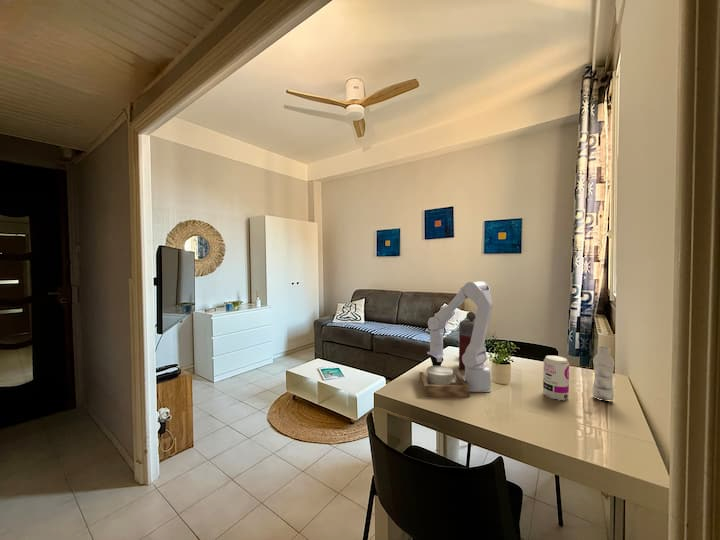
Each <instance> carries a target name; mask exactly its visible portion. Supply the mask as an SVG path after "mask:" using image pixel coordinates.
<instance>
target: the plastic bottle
mask: <svg viewBox="0 0 720 540" xmlns="http://www.w3.org/2000/svg"><path fill="white" fill-rule="evenodd" d="M610 354H611V348H610V347H608V346H604V345H598V346H597V353H596V355H594V357H593V359H592V363H593V369H594V372H593V373H594V379H593V385H592V389H591V393H592V396H593V398H595V397H596V398H599V399H602V400H612V401H613V400H614V397H615V393H614V387H613V377H614V376H613V375H614V369H615V366H616V363H615V360H614V359H613V357H612V356H611V355H610ZM596 398H595V399H596Z"/></svg>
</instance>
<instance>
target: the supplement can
mask: <svg viewBox="0 0 720 540" xmlns="http://www.w3.org/2000/svg"><path fill="white" fill-rule="evenodd" d="M542 375H543V378H542V379H543V380H542V381H543V382H542V383H543V384H542V388H543V389H542V392H543V394H544V396H545V395H546V397H547V396H548V397H550V398H549V399H551V398H553V399H552V400H554V399H559V400H558V401H560V400H563V401H566V400H568V399H569V394H570V393H569V390H570V362H569V361H568V358H566V357H565V356H559V355H546V356H545V358H544V359H543V374H542ZM548 397H547V398H548ZM565 399H566V400H565Z"/></svg>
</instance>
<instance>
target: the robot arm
mask: <svg viewBox="0 0 720 540" xmlns="http://www.w3.org/2000/svg"><path fill="white" fill-rule="evenodd" d="M467 299H470V300H471V301H472V302H473V303H474V304H475V306H477V309H476V312H475V313H476V318H475V322H474V327H473V332H472V337H471V341H470V344H469V345H468V347H467V348H466V352H465V353H464V354H463V356H462V362H463V364H464V365H465V371H464V380H465V382H466V383H467V384H468V386H469V393H470V392H475V393H476V392H477V393H478V392H479V393H491V392H492V390H491V379H492V378H491V377H492V376H491V370H490V368H489V367H488V366H485V365H484V363H485V362H487V358H488V357H487V348H486V346H485V343H486V339H487V338H486V337H487V333H488V331H489V325H490V322H491V321H490V320H491V316H492V310H493V307H494V303H493V299H492V295H491V286H489V285H488V283H486V281H484V280H478V281H468V282H466V283H465V284H464V285H463V286H462V287H460V290H459V291H458V292H457V294H456V295H455V296H454V297H453V298H452V300H451V301H450V302H449V303H448V304H444V305H441V306H440V309H439V310H438V312H437V313H434V316H432V317H429V319H428V321H427V327H428V328H429V351H427V352H426V353H427V355H430V356H429V358H430V361H431V363H432V364H431V366H435V365H438V366H442V363H443V361H444V358H443V356H444V329H445V328H446V325H447V322H448V321H450V319H452V318H453V316H455V310H456V309H457V308H458V307H460V306H461V304H462V303H464V301H466V300H467Z"/></svg>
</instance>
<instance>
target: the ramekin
mask: <svg viewBox="0 0 720 540" xmlns="http://www.w3.org/2000/svg"><path fill="white" fill-rule="evenodd" d="M453 374H454V370H453V369H452V368H450V367H449V366H445V365H441V366H438V365H435V366H433V365H430V366H428V367H427V368H426V375H427V380H428V382H429V383H430V384H433V385H451V383H452V380H453Z"/></svg>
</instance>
